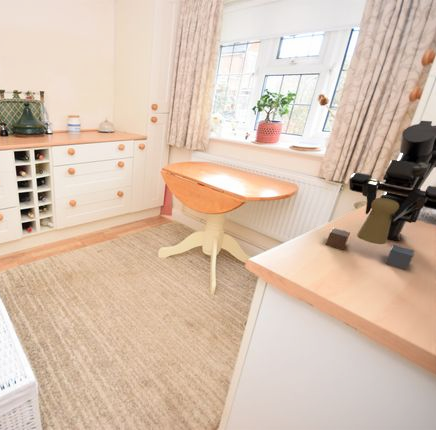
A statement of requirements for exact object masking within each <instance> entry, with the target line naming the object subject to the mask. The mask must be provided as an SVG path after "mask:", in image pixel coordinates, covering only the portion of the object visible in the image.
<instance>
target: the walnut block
mask: <svg viewBox="0 0 436 430" xmlns="http://www.w3.org/2000/svg"><path fill="white" fill-rule="evenodd" d="M350 235H351V232H350V231H346V230H342V229H338V228H335V227H333V228H332V229H331V231H330V232H329V234H328V237H327V239H326V243H325V245H327V246H328V247H329V246H330V247H331V248H336V249H338V250H344V248H345V247H346V246H347V243H348V240H349V238H350Z"/></svg>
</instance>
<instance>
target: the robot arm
mask: <svg viewBox="0 0 436 430" xmlns="http://www.w3.org/2000/svg"><path fill="white" fill-rule="evenodd" d="M399 145H400V146H399V153H400V154H399V156H398V158H397V159H391V160H390V162H389V163H388V166H387V168H386V169H385V172H384V175H383V177H382V180H384V181H380V180H378V179H375V178H373V175H372V174H367V173H362V172H354V173H351V175H350V177H349V182H348V183H349V190H350V191H351V192H356V193H360V194H362V196H363V197H366V206H365V207H366V208H365V215H369V214H370V212H371V211H372V208H371V204H372V202H373V200H375V199H376V198H377V194H378V191H381V192H385V193H384V194H381V195H380V197H379V198H387V199H391V200H394V201H396V202H398V203H399V209H398V210H397V212H396V213H394V214H393V216H392V220H391V224H390V229H389V233H388V237H387V240H393V241H396V242H400V240H401V237H402V231H403V228H404V226H405V224H406V223H409V224H411V223H416V222H417V221H418V218H419V216H420V213H421V211H422V209H423V208H426V209H431V210H436V186H434V185H433V186H432V185H428V186H427V188H426V189H425V190H421V188H422V186H423V185H424V183H425V182H426V180H427V179H428V177H429V176H430V174H431V173H432V171H433V170H434V169H435V168H436V125H433V121H430V120H420V121H419V123H417V124H412V125H410V126H408V127H406V128H405V129H403V131H402V133H401V137H400V144H399Z"/></svg>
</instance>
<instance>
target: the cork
mask: <svg viewBox="0 0 436 430" xmlns="http://www.w3.org/2000/svg"><path fill="white" fill-rule="evenodd" d="M398 209H399V203H398V202H396V201H394V200H391V199H387V198H380V197H376V199H375V200H373V202H372V204H371V210H370V212H369V213H368V216H367V217H366V219H365V221H364V222H363V224H362V225H361V227H360V229H359V230H358V232H357V234H356V237H357V238H359V239H360V240H362V241H364V242H368V243H369V244H370V243H371V244H376V245H384V244H386V243H387V241H388V238H387V237H388V233H389V229H390V224H391V220H392V216H393V214H394V213H396V212H397V210H398Z"/></svg>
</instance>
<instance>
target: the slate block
mask: <svg viewBox="0 0 436 430" xmlns="http://www.w3.org/2000/svg"><path fill="white" fill-rule="evenodd" d="M414 254H415V250H413V249H410V248H406V247H403V246H399V245H396V244H392V246H391V248H390V250H389V252H388V255H387V257H386V260H385V261H384V263H385V264H386V265H389V266H392V267H395V268H399V269H402V270H405V271H406V270H407V269H408V268H409V265H410V263H411V261H412V259H413V258H414Z"/></svg>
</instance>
